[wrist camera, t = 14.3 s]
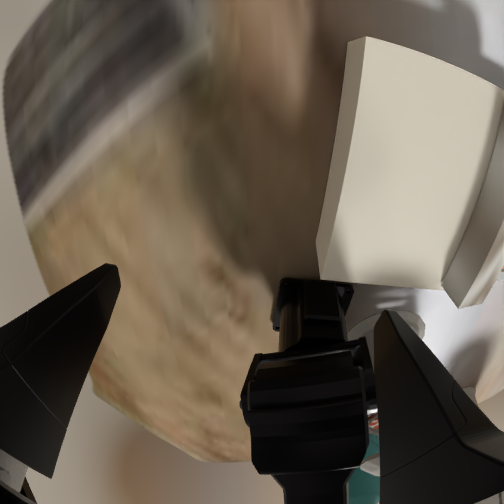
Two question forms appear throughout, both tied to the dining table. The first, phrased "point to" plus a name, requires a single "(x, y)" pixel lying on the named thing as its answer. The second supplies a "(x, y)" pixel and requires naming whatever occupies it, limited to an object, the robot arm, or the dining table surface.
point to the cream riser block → (404, 166)
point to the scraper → (481, 239)
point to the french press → (366, 329)
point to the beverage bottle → (365, 479)
